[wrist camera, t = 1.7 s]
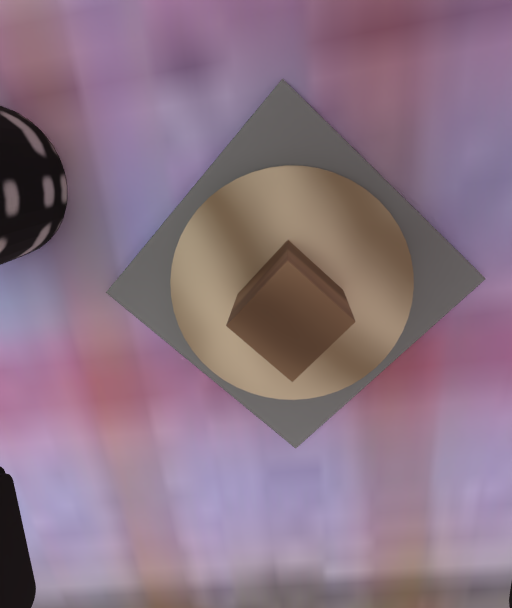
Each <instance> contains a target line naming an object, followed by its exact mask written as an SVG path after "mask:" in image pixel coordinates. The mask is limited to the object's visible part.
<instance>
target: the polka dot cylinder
mask: <svg viewBox="0 0 512 608" xmlns="http://www.w3.org/2000/svg"><path fill="white" fill-rule="evenodd" d="M66 204H67V185H66V179H65V173H64V170H63V167H62V164H61V161H60V159H59V157H58V155H57V153H56V151H55V149H54V148H53V146H52V144H51V143H50V141H49V140H48V139H47V138H46V136H45V135H44V134H43V133H42V131H41V130H39V129H38V128H37V127H36V126H35V125H34V124H33V123H32V122H30V121H29V120H28V119H26V118H25V117H23V116H21V115H20V114H18V113H16V112H15V111H12V110H9V109H7V108H4V107H2V106H0V265H1V264H3V263H6V262H8V261H11V260H13V259H16V258H18V257H21V256H23V255H26V254H28V253H30V252H32V251H34V250H36V249H38V248H40V247H41V246H43V245H44V244H45V243H46V242H48V241H49V240H50V239H51V237H52V236H53V235H54V234H55V232H56V231H57V230H58V228H59V226H60V224H61V221H62V219H63V217H64V213H65V208H66Z"/></svg>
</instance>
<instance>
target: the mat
mask: <svg viewBox="0 0 512 608" xmlns="http://www.w3.org/2000/svg"><path fill="white" fill-rule="evenodd" d="M284 165H298V166H308V167H315V168H320V169H323V170H327V171H330V172H334V173H336V174H338V175H341V176H343V177H345V178H347V179H349V180H352V181H353V182H355V183H356V184H358V185H360V186H361V187H363V188H364V189H366V190H367V191H368V192H370V193H371V194H372V195H373V196H374V197H375V198H377V199H378V200H379V201H380V202H381V203H382V204H383V206H384V207H385V208H386V209H387V210H388V211H389V212H390V214H391V215H392V217H393V218H394V220H395V221H396V223H397V224H398V226H399V227H400V229H401V232H402V234H403V236H404V238H405V240H406V243H407V246H408V249H409V252H410V255H411V260H412V266H413V275H414V290H413V299H412V305H411V309H410V313H409V317H408V320H407V322H406V325H405V327H404V330H403V332H402V334H401V335H400V337H399V339H398V341H397V343H396V344H395V346H394V347H393V348H392V350H391V351H390V352H389V354H388V355H387V356H386V358H385V359H384V360H383V361H382V362H381V363H380V364H379V365H378V366H377V367H376V368H375V369H373V370H372V371H371V372H370V373H368V374H367V375H366V376H365V377H363V378H362V379H360V380H359V381H357V382H355V383H354V384H352V385H350V386H348V387H346V388H344V389H341V390H339V391H337V392H334V393H331V394H328V395H325V396H320V397H315V398H310V399H299V400H284V399H274V398H268V397H263V396H259V395H256V394H252V393H249V392H247V391H244V390H242V389H240V388H237V387H235V386H234V385H232V384H230V383H228V382H226V381H225V380H223V379H222V378H220V377H219V376H218V375H216V374H215V373H214V372H212V371H211V370H210V369H209V368H208V367H207V366H206V365H205V364H204V363H203V362H202V361H201V360H200V359H199V358H198V357H197V355H196V354H195V353H194V352H193V351H192V349H191V348H190V346H189V344H188V343H187V341H186V340H185V338H184V336H183V334H182V332H181V330H180V328H179V325H178V323H177V320H176V316H175V313H174V310H173V304H172V299H171V286H170V279H171V267H172V262H173V258H174V253H175V250H176V247H177V244H178V242H179V239H180V236H181V234H182V233H183V231H184V229H185V227H186V225H187V223H188V222H189V220H190V219H191V218H192V216H193V215H194V214H195V212H196V211H197V209H198V208H199V207H200V206H201V205H202V204H203V203H204V202H205V201H206V200H207V199H208V198H209V197H210V196H212V195H213V194H214V193H215V192H217V191H218V190H219V189H221V188H222V187H224V186H225V185H227V184H229V183H230V182H232V181H234V180H235V179H237V178H239V177H242V176H244V175H247V174H249V173H251V172H254V171H258V170H261V169H265V168H269V167H276V166H284ZM484 280H485V278H484V277H483V276H482V275H481V274H480V273H479V272H478V271H477V270H476V269H475V268H474V267H473V266H472V265H471V264H470V263H469V262H468V261H467V260H466V259H465V258H464V257H463V256H462V255H461V254H460V253H459V252H458V251H457V250H456V249H455V248H454V247H453V246H452V245H451V244H450V243H449V242H448V241H447V240H446V239H445V238H444V237H443V236H442V235H441V234H440V233H439V232H438V231H437V230H436V229H435V228H434V227H433V226H432V225H431V224H429V223H428V222H427V221H426V220H425V219H424V218H423V217H422V216H421V215H420V214H419V213H418V212H417V211H416V210H415V209H414V208H413V207H412V206H411V205H410V204H409V203H408V202H407V201H406V200H405V199H404V198H403V197H402V196H401V195H400V194H399V193H398V192H397V191H396V190H395V189H394V188H393V187H392V186H391V185H390V184H389V183H388V182H387V181H386V180H385V179H384V178H383V177H382V176H381V175H380V174H379V173H378V172H377V171H376V170H375V169H374V168H373V167H372V166H371V165H370V164H369V163H368V162H367V161H366V160H365V159H364V158H362V157H361V156H360V155H359V154H358V153H357V152H356V151H355V150H354V149H353V148H352V147H351V146H350V145H349V144H348V143H347V142H346V141H345V140H344V139H343V138H342V137H341V136H340V135H339V134H338V133H337V132H336V131H335V130H334V129H333V128H332V127H331V126H330V125H329V124H328V123H327V122H326V121H325V120H324V119H323V118H322V117H321V116H320V115H319V114H318V113H317V112H316V111H315V110H314V109H313V108H312V107H311V106H310V105H309V104H308V103H307V102H306V101H305V100H304V99H303V98H302V97H301V96H300V95H299V94H298V93H297V92H295V91H294V90H293V89H292V88H291V87H290V86H289V85H288V84H287V83H286V82H285V81H284V80H283V79H282V80H281V81H280V82H279V84H278V85H277V86H276V87H275V89H274V90H273V91H272V92H271V93H270V95H269V96H268V97H267V98H266V99H265V101H264V102H263V103H262V104H261V105H260V107H259V108H258V109H257V110H256V112H255V113H254V114H253V115H252V116H251V118H250V119H249V120H248V121H247V122H246V124H245V125H244V126H243V127H242V128H241V130H240V131H239V132H238V133H237V135H236V136H235V137H234V138H233V139H232V141H231V142H230V143H229V144H228V145H227V147H226V148H225V149H224V150H223V152H222V153H221V154H220V155H219V156H218V158H217V159H216V160H215V161H214V162H213V164H212V165H211V166H210V167H209V168H208V170H207V171H206V172H205V173H204V175H203V176H202V177H201V178H200V179H199V181H198V182H197V183H196V184H195V185H194V187H193V188H192V189H191V190H190V191H189V193H188V194H187V195H186V196H185V198H184V199H183V200H182V201H181V202H180V204H179V205H178V206H177V207H176V208H175V210H174V211H173V212H172V213H171V215H170V216H169V217H168V218H167V219H166V221H165V222H164V223H163V224H162V225H161V227H160V228H159V229H158V230H157V231H156V233H155V234H154V235H153V236H152V238H151V239H150V240H149V241H148V242H147V244H146V245H145V246H144V247H143V248H142V250H141V251H140V252H139V253H138V255H137V256H136V257H135V258H134V259H133V261H132V262H131V263H130V264H129V265H128V267H127V268H126V269H125V270H124V271H123V273H122V274H121V275H120V276H119V278H118V279H117V280H116V281H115V282H114V284H113V285H112V286H111V287H110V288H109V290H108V291H107V292H106V293H107V294H109V295H110V296H111V297H112V298H113V299H115V300H116V301H117V302H118V303H119V304H121V305H122V306H123V307H124V308H126V309H127V310H128V311H129V312H130V313H132V314H133V315H134V316H135V317H136V318H138V319H139V320H140V321H141V322H143V323H144V324H145V325H146V326H147V327H149V328H150V329H151V330H152V331H154V332H155V333H156V334H157V335H158V336H160V337H161V338H162V339H163V340H164V341H166V342H167V343H168V344H169V345H171V346H172V347H173V348H174V349H175V350H177V351H178V352H179V353H180V354H181V355H183V356H184V357H185V358H186V359H188V360H189V361H190V362H191V363H192V364H194V365H195V366H196V367H197V368H198V369H200V370H201V371H202V372H203V373H205V374H206V375H207V376H208V377H209V378H211V379H212V380H213V381H214V382H216V383H217V384H218V385H219V386H220V387H222V388H223V389H224V390H225V391H226V392H228V393H229V394H230V395H231V396H233V397H234V398H235V399H236V400H237V401H239V402H240V403H241V404H242V405H243V406H245V407H246V408H247V409H248V410H250V411H251V412H252V413H253V414H254V415H256V416H257V417H258V418H259V419H260V420H262V421H263V422H264V423H265V424H267V425H268V426H269V427H270V428H271V429H273V430H274V431H275V432H276V433H278V434H279V435H280V436H281V437H282V438H284V439H285V440H286V441H287V442H288V443H290V444H291V445H292V446H293V447H295V448H297V447H298V446H299V445H300V444H301V443H302V442H303V441H305V440H306V439H307V438H308V437H309V436H310V435H311V434H312V433H314V432H315V431H316V430H317V429H318V428H319V427H320V426H321V425H323V424H324V423H325V422H326V421H327V420H328V419H329V418H330V417H331V416H333V415H334V414H335V413H336V412H337V411H338V410H339V409H340V408H342V407H343V406H344V405H345V404H346V403H347V402H348V401H349V400H351V399H352V398H353V397H354V396H355V395H356V394H357V393H358V392H359V391H361V390H362V389H363V388H364V387H365V386H366V385H367V384H368V383H370V382H371V381H372V380H373V379H374V378H375V377H376V376H377V375H379V374H380V373H381V372H382V371H383V370H384V369H385V368H386V367H387V366H389V365H390V364H391V363H392V362H393V361H394V360H395V359H396V358H398V357H399V356H400V355H401V354H402V353H403V352H404V351H405V350H407V349H408V348H409V347H410V346H411V345H412V344H413V343H414V342H416V341H417V340H418V339H419V338H420V337H421V336H422V335H423V334H424V333H426V332H427V331H428V330H429V329H430V328H431V327H432V326H433V325H435V324H436V323H437V322H438V321H439V320H440V319H441V318H442V317H444V316H445V315H446V314H447V313H448V312H449V311H450V310H451V309H452V308H454V307H455V306H456V305H457V304H458V303H459V302H460V301H461V300H463V299H464V298H465V297H466V296H467V295H468V294H469V293H470V292H472V291H473V290H474V289H475V288H476V287H477V286H478V285H479V284H480V283H482V282H483V281H484Z"/></svg>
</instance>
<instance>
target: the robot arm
mask: <svg viewBox="0 0 512 608" xmlns="http://www.w3.org/2000/svg"><path fill="white" fill-rule="evenodd" d="M35 592H36V585H35V580H34V575H33V571H32V566H31V561H30V557H29V552H28V547H27V543H26V538H25V533H24V529H23V524H22V520H21V515H20V510H19V506H18V501H17V496H16V492H15V487H14V483H13V479H12V477H11V476H10V475H9V474H6V473H5V471H4V469H3V468H2V467H0V608H31V607H32V604H33V601H34V598H35ZM509 605H510V608H512V583H511V590H510V597H509Z"/></svg>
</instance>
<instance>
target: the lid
mask: <svg viewBox="0 0 512 608" xmlns="http://www.w3.org/2000/svg"><path fill="white" fill-rule="evenodd" d="M170 286H171V299H172V304H173V310H174V313H175V316H176V320H177V323H178V325H179V328H180V330H181V332H182V334H183V336H184V338H185V340H186V341H187V343H188V344H189V346H190V348H191V349H192V351H193V352H194V353H195V354H196V355H197V357H198V358H199V359H200V360H201V361H202V362H203V363H204V364H205V365H206V366H207V367H208V368H209V369H210V370H211V371H212V372H214V373H215V374H216V375H218V376H219V377H220V378H222V379H223V380H225V381H226V382H228V383H230V384H232V385H234V386H235V387H237V388H240V389H242V390H244V391H247V392H249V393H252V394H256V395H259V396H263V397H268V398H274V399H284V400H299V399H310V398H315V397H320V396H325V395H328V394H331V393H334V392H337V391H339V390H341V389H344V388H346V387H348V386H350V385H352V384H354V383H355V382H357V381H359V380H360V379H362V378H363V377H365V376H366V375H367V374H368V373H370V372H371V371H372V370H373V369H375V368H376V367H377V366H378V365H379V364H380V363H381V362H382V361H383V360H384V359H385V358H386V356H387V355H388V354H389V352H390V351H391V350H392V348H393V347H394V346H395V344H396V343H397V341H398V339H399V337H400V335H401V334H402V332H403V330H404V327H405V325H406V322H407V320H408V317H409V313H410V309H411V305H412V299H413V290H414V275H413V266H412V260H411V255H410V252H409V249H408V246H407V243H406V240H405V238H404V236H403V234H402V232H401V229H400V227H399V226H398V224H397V223H396V221H395V220H394V218H393V217H392V215H391V214H390V212H389V211H388V210H387V209H386V208H385V207H384V206H383V204H382V203H381V202H380V201H379V200H378V199H377V198H375V197H374V196H373V195H372V194H371V193H370V192H368V191H367V190H366V189H364V188H363V187H361V186H360V185H358V184H356V183H355V182H353V181H352V180H349V179H347V178H345V177H343V176H341V175H338V174H336V173H334V172H330V171H327V170H323V169H320V168H315V167H308V166H298V165H284V166H276V167H269V168H265V169H261V170H258V171H254V172H251V173H249V174H247V175H244V176H242V177H239V178H237V179H235V180H234V181H232V182H230V183H229V184H227V185H225V186H224V187H222V188H221V189H219V190H218V191H217V192H215V193H214V194H213V195H212V196H210V197H209V198H208V199H207V200H206V201H205V202H204V203H203V204H202V205H201V206H200V207H199V208H198V209H197V211H196V212H195V214H194V215H193V216H192V218H191V219H190V220H189V222H188V223H187V225H186V227H185V229H184V231H183V233H182V234H181V236H180V239H179V242H178V244H177V247H176V250H175V253H174V258H173V262H172V267H171V279H170Z"/></svg>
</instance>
